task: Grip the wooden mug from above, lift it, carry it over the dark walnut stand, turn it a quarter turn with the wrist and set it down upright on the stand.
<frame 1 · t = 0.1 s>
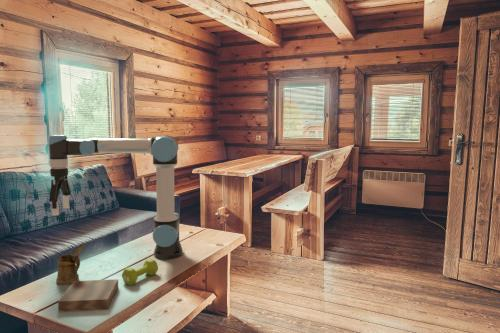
hand: (61, 211, 178), 28 cm above the table, tool pointing down, fingers open, 13 cm apart
wooden mug: (71, 281, 166), on the table
dumbbell: (140, 279, 170), on the table
walnut stand: (90, 299, 150), on the table
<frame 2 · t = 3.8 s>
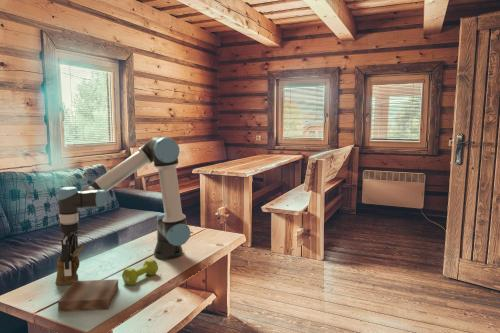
hand: (71, 271, 166), 4 cm above the table, tool pointing down, fingers closed on wooden mug, 7 cm apart
wooden mug: (71, 282, 166), on the table, touching gripper
everything else where it was.
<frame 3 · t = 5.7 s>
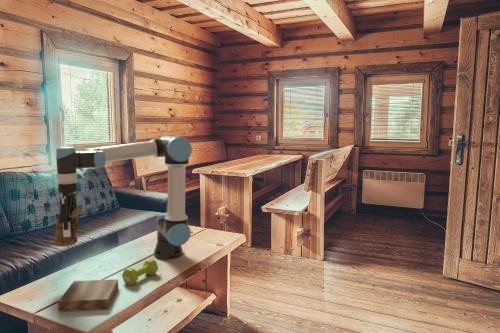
hand: (70, 233, 164), 22 cm above the table, tool pointing down, fingers closed on wooden mug, 7 cm apart
wooden mug: (70, 244, 163), point 18 cm above the table, touching gripper
everything else where it was.
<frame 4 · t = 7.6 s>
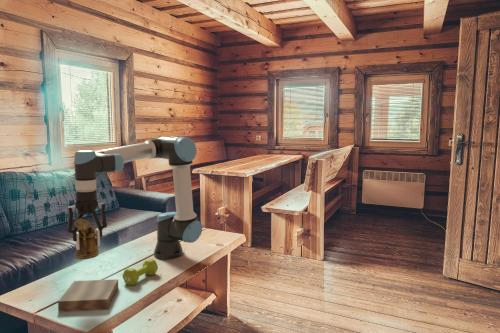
hand: (88, 246, 148), 22 cm above the table, tool pointing down, fingers closed on wooden mug, 7 cm apart
wooden mug: (86, 258, 148), point 18 cm above the table, touching gripper
everything else where it was.
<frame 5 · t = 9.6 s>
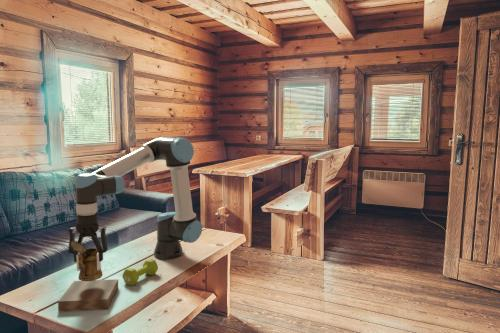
hand: (89, 269, 149), 13 cm above the table, tool pointing down, fingers closed on wooden mug, 7 cm apart
wooden mug: (86, 279, 149), point 8 cm above the table, touching gripper
everything else where it was.
when the fingers open (9 cm above the table, at t = 11.0 s): wooden mug drops 1 cm, resting on walnut stand.
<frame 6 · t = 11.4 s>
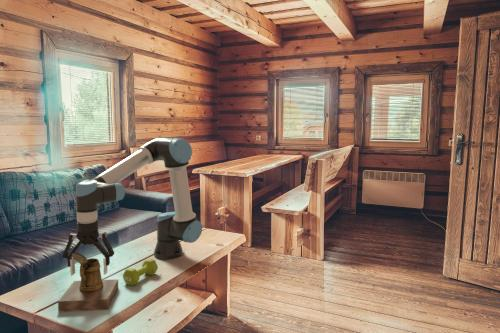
hand: (89, 273, 149), 11 cm above the table, tool pointing down, fingers open, 12 cm apart
wooden mug: (87, 290, 150), point 4 cm above the table, touching walnut stand
everything else where it was.
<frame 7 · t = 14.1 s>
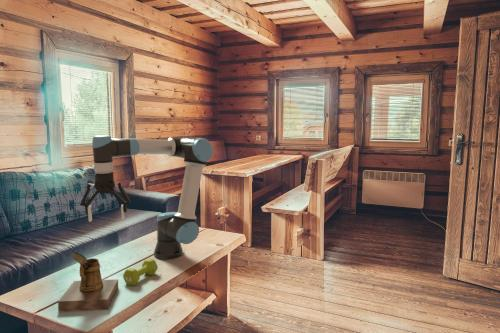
hand: (106, 220, 161), 29 cm above the table, tool pointing down, fingers open, 13 cm apart
nothing on the table moved.
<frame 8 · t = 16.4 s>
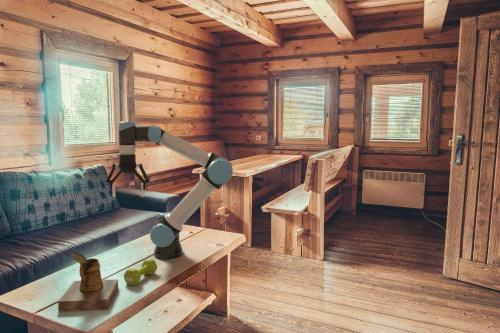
hand: (128, 196, 183), 35 cm above the table, tool pointing down, fingers open, 13 cm apart
nothing on the table moved.
at the end: wooden mug inside the target area on the walnut stand (0.9 cm from its centre), point 3.8 cm above the walnut stand's base; wooden mug tilted 0°; the gripper is holding nothing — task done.
